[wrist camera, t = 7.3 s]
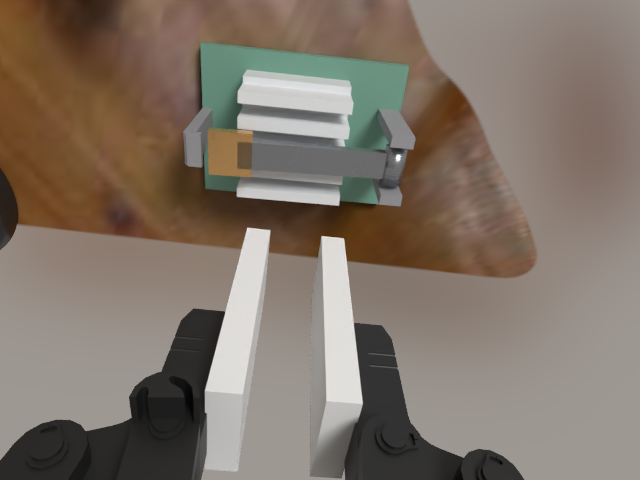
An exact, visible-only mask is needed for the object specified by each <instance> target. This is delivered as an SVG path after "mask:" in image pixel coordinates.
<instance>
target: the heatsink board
mask: <svg viewBox="0 0 640 480" xmlns="http://www.w3.org/2000/svg"><path fill="white" fill-rule="evenodd" d="M200 48H201V77H202V107H203V108H202V109H201V110H200V112H199V113H198V114H197V115H196V117H195V118H194V119H193V120H192V122H191V123H190V124H189V125H188V127H187V128H186V129H185V130H184V132H183V134H184V151H185V165H187V166H191V167H201V168H202V166H203V154H204V166H205V189H211V190H223V191H234V192H237V197H245V198H256V199H268V200H279V201H290V202H302V203H313V204H325V205H336V206H339V201H348V202H359V203H370V204H380V205H391V206H400V205H401V201H402V194H401V192H400V189H399V187H388V186H384V185H382V184H381V183H380V182H379V179H375V178H361V177H347V176H333V175H319V174H305V173H291V172H277V171H262V170H252V176H251V177H237V176H223V175H209V164H208V129H209V127H210V128H222V129H234V130H247V131H253V139H255V140H267V141H280V142H292V143H305V144H318V145H330V146H343V147H355V148H368V149H381V150H385V148H386V145H387V144H389V146H390V147H392V148H403V149H413V148H414V143H415V139H416V138H415V136H414V135H413V133H412V132H411V130H410V129H409V127H408V125H407V124H406V122H405V121H404V119H403V118H402V116H401V114H400V110H401V105H402V101H403V96H404V91H405V86H406V81H407V76H408V71H409V66H408V65H407V64H398V63H389V62H380V61H371V60H362V59H353V58H344V57H335V56H326V55H317V54H308V53H299V52H291V51H282V50H273V49H264V48H255V47H246V46H237V45H228V44H219V43H210V42H202V43H200Z"/></svg>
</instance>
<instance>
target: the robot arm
mask: <svg viewBox="0 0 640 480" xmlns="http://www.w3.org/2000/svg"><path fill="white" fill-rule="evenodd" d="M17 219H18V212H17V204H16V199H15V196H14V193H13V190H12V188H11V186H10V184H9V182H8V180H7V178H6V176H5V175H4V173H3V172H2V170H1V169H0V250H1V249H2V248H3V247H4V246H5V245H6V244H7V243H8V242H9V241H10V239H11V238H12V236H13V234H14V232H15V229H16V225H17ZM270 231H271V230H264V229H255V228H247V232H246V235H245V239H244V243H243V247H242V251H241V255H240V258H239V262H238V266H237V271H236V274H235V278H234V281H233V286H232V289H231V293H230V297H229V301H228V305H227V308H226V312H224V311H213V310H203V309H193V310H192V311H191V312H190V313H188V314H187V315H186V316H185V317H184V318H183V319H182V320H181V322H180V325H179V327H178V330H177V333H176V335H175V338H174V340H173V343H172V345H171V349H170V351H169V353H168V356H167V359H166V361H165V364H164V366H163V369H162V372H158V373H156V374H153V375H151V376H149V377H146V378H145V379H143V380H142V381H141V382H140V383H139V384H138V385H136V386H135V388H134V389H133V391H132V393H131V395H130V396H129V399H130V408H131V415H132V418H131V419H129V420H127V421H125V422H123V423H120V424H117V425H113V426H109V427H105V428H100V429H95V430H90V431H85V430H84V429H83V428H82V426H81V425H80V424H77V423H75V422H73V421H71V420H54V421H50V422H46V423H42V424H40V425H38V426H37V427H35V428H33V429H31V430H29V431H28V432H26V433H25V434H24V435H23V436H22V437H21V438H20V439H18V440H17V441H16V442H15V443H14V445H13V446H12V447H11V448H10V449H9V451H8V452H7V453H6V455H5V456H4V457H3V458H2V459H1V460H0V480H201V476H202V472H203V468H204V464H205V469H208V470H223V471H238V466H239V459H240V453H241V446H242V439H243V433H244V426H245V420H246V413H247V407H248V400H249V394H250V387H251V381H252V374H253V368H254V361H255V355H256V348H257V341H258V335H259V328H260V322H261V315H262V309H263V302H264V296H265V286H266V274H267V264H268V253H269V242H270ZM397 367H398V366H397V362H396V357H395V353H394V348H393V343H392V339H391V338H390V336H389V335H388V334H387V332H386V331H385V329H384V328H383V327H382V326H381V325H370V324H360V323H354V322H353V314H352V304H351V295H350V287H349V279H348V270H347V260H346V252H345V243H344V238H335V237H326V236H322V237H321V243H320V249H319V255H318V261H317V267H316V273H315V280H314V286H313V292H312V298H311V398H310V401H311V402H310V476H315V477H330V478H342V475H343V471H344V468H345V480H524V479H523V477H522V476H521V474H520V473H519V471H518V470H517V469H516V467H515V466H514V465H513V464H512V463H510V462H509V461H508V460H507V459H506V458H504V457H503V456H501V455H499V454H497V453H495V452H493V451H490V450H482V449H477V450H474V451H471V452H469V453H468V454H467V455H466V456H465V457H464V458H462V457H460V456H457V455H455V454H452V453H450V452H447V451H444V450H442V449H439V448H437V447H435V446H433V445H431V444H430V443H428V442H427V441H426V440H424V439H423V438H422V437H421V436H420V434H419V433H418V431H417V430H416V429H415V427H414V426H413V425H412V424H411V423H410V420H409V417H408V413H407V409H406V404H405V399H404V394H403V390H402V385H401V380H400V376H399V371H398V370H397Z"/></svg>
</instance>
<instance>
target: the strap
mask: <svg viewBox="0 0 640 480" xmlns="http://www.w3.org/2000/svg"><path fill="white" fill-rule="evenodd" d="M407 152H408V149H403V148H392V147H390V146H389V144H387V145H386V148H385V150H381V149H368V148H355V147H343V146H330V145H318V144H305V143H292V142H280V141H267V140H255V139H253V131H247V130H234V129H222V128H210V127H209V129H208V164H209V175H223V176H237V177H251V176H252V170H262V171H277V172H291V173H305V174H319V175H333V176H347V177H361V178H375V179H379V182H380V183H381V184H382V185H384V186H388V187H398V186H400V184H401V179H402V175H403V170H404V166H405V161H406V157H407Z"/></svg>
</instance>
